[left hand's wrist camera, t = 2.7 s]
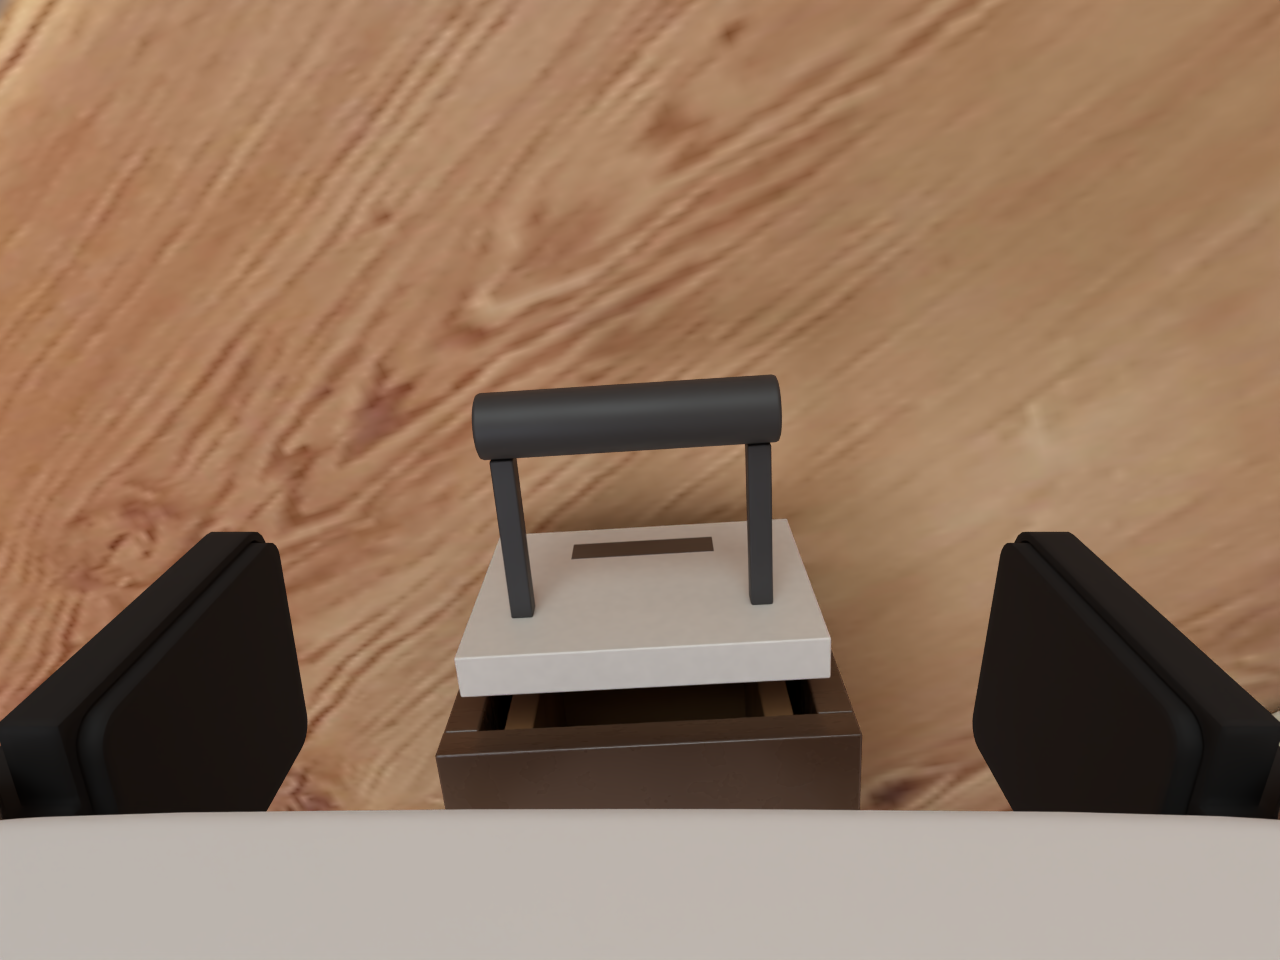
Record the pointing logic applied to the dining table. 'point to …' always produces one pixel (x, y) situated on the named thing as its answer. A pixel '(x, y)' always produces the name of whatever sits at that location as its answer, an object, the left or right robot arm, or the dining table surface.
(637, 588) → the drawer
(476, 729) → the brown rectangular box
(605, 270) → the dining table surface
